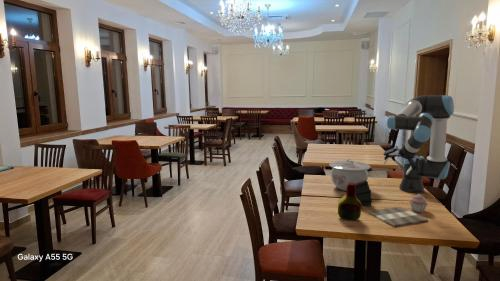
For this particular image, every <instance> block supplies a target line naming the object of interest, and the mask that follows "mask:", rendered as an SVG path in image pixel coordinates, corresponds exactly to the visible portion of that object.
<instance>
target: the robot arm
mask: <svg viewBox="0 0 500 281" xmlns="http://www.w3.org/2000/svg"><path fill="white" fill-rule="evenodd" d="M454 109H455V105H454V100H453V97H452V96H451V95H444V94H442V95H441V94H439V95H436V94H435V95H431V94H430V95H428V94H427V95H425V94H423V95H420V96H416V97H414V98H411V99H410V100H408V101H407V103H406V104H405V107H403V108H402V110H401V111H399V112H398V113H397V115H388V118H387V121H386V126H387V128H388V129H389V130H391V129H392V130H399V131H401V130H402V131H412V133H411V135H410V136H409V138H408V139H407V140H406V141H405V144H404V145H403V146H402V147H401V148H399V147H398V146H397V145H395V146H394V147H392V148H390V149H388V150H385V151H384V152H383V156H385V157H384V158H383V160H384V161H383V165H385V164H386V163H387V162H388V160H389V159H390V158H395V157H398V158H400V157H401V158H403V159H404V160H403V171H402V172H403V174H402V179H401V182H400V184H399V190H401V191H403V192H407V193H412V194H413V193H414V194H421V193H424V192H425V186H424V182H423V177H426V178H430V179H437V180H446V178H447V176H448V174H449V170H450V166H451V162H450V161H448V158H447V157H446V141H447V126H448V120H449V119H450V118H451V116H452V115H454V111H455V110H454ZM417 115H418V116H417ZM429 139H430V140H429ZM428 140H429V141H430V142H429V155H428V156H426V158H425V157H424V156H422V155H417V154H418V152H419V151H420V150H421V148H423V146H424V145H425V143H426V142H427V141H428Z"/></svg>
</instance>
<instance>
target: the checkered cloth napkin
mask: <svg viewBox="0 0 500 281" xmlns="http://www.w3.org/2000/svg"><path fill="white" fill-rule="evenodd" d="M367 213H368V214H369V215H371V216H373V217H374V218H377V219H378V220H380V221H382V222H384V223H385V224H387V225H388V226H390V227H393V228H395V227H401V226H408V225H413V224H414V225H415V224H421V223H426V222H429V219H427V217H426V218H425V217H423V216H421V215H419V214H418V213H416V212H415V213H414V211H413V212H412V210H411V211H410V210H408V209H406V208H405V207H402V206H396V207H388V208H382V209H381V208H379V209H374V210H373V209H372V210H368V211H367Z"/></svg>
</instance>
